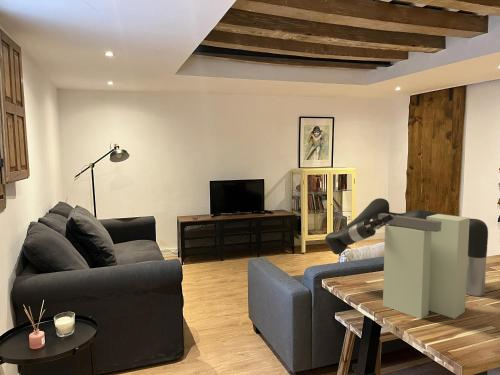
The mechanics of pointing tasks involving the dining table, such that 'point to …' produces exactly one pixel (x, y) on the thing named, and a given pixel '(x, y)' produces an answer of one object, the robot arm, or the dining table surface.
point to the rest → (407, 270)
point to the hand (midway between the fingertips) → (393, 216)
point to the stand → (449, 265)
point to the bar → (413, 222)
